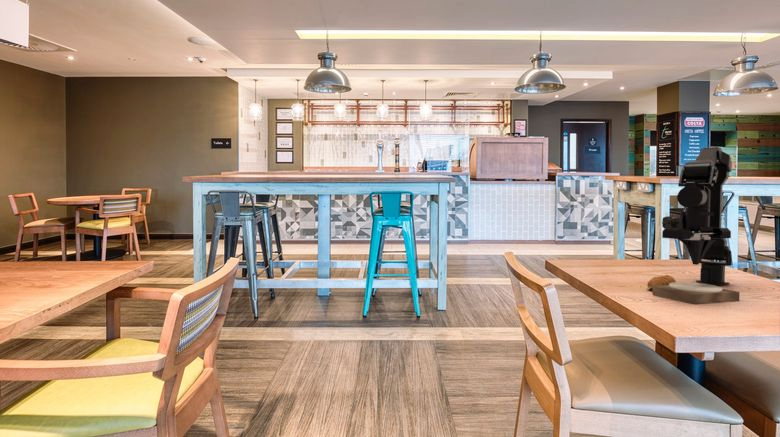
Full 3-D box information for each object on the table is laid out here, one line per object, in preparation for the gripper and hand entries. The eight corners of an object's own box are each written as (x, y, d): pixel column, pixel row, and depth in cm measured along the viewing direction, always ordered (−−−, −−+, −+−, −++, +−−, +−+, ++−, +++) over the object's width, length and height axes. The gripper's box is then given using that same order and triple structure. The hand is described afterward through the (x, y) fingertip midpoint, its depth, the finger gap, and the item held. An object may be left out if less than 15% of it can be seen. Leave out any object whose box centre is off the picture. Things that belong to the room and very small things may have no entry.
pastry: (663, 292, 137) (664, 279, 137) (640, 288, 143) (641, 275, 142) (679, 289, 142) (680, 276, 142) (656, 285, 148) (656, 273, 148)
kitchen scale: (694, 292, 140) (695, 280, 140) (739, 300, 127) (739, 288, 127) (652, 294, 135) (652, 283, 135) (694, 304, 122) (694, 291, 122)
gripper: (695, 207, 141) (694, 260, 141) (646, 207, 135) (645, 262, 135) (733, 208, 130) (731, 264, 131) (681, 208, 124) (679, 267, 125)
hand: (695, 264), depth 131 cm, fingers closed
